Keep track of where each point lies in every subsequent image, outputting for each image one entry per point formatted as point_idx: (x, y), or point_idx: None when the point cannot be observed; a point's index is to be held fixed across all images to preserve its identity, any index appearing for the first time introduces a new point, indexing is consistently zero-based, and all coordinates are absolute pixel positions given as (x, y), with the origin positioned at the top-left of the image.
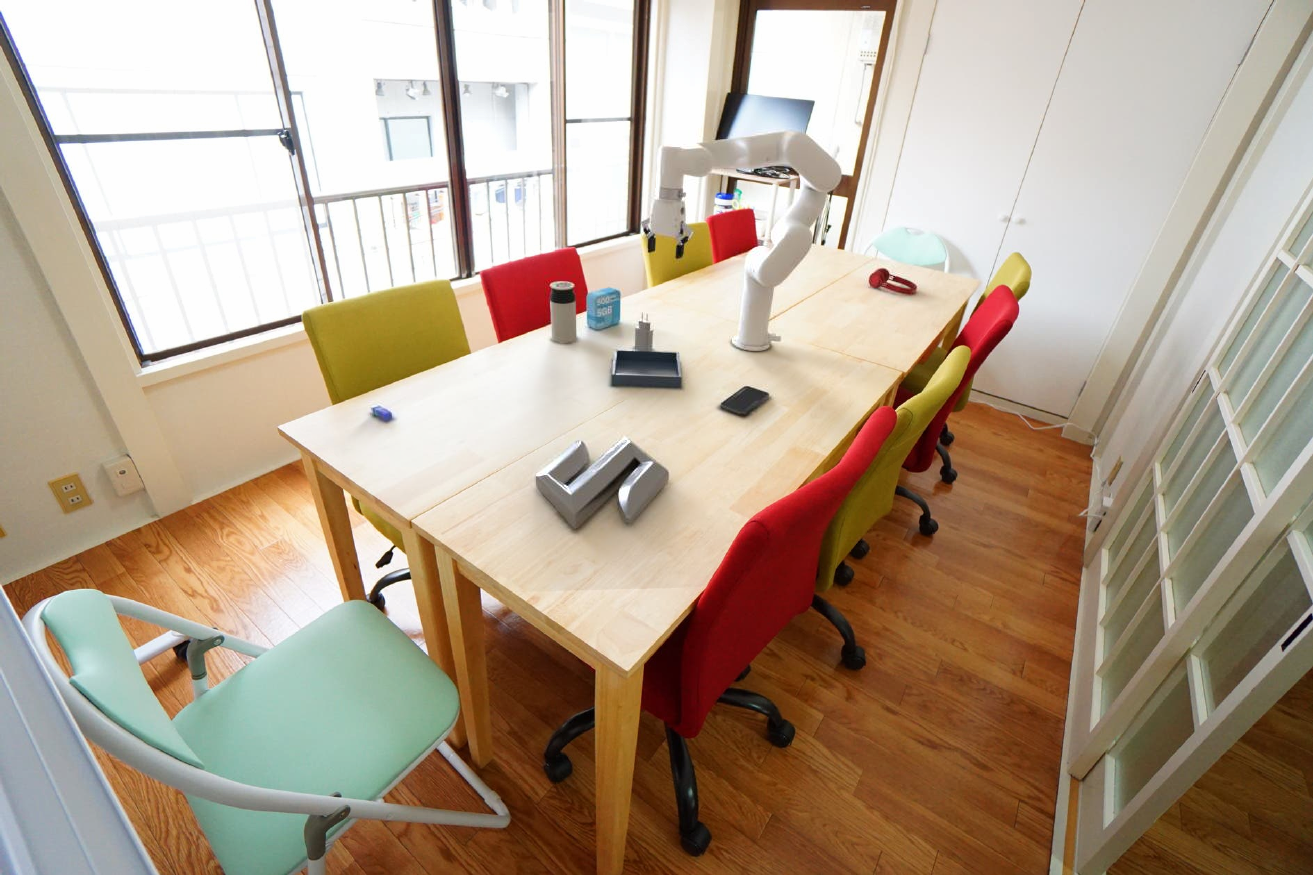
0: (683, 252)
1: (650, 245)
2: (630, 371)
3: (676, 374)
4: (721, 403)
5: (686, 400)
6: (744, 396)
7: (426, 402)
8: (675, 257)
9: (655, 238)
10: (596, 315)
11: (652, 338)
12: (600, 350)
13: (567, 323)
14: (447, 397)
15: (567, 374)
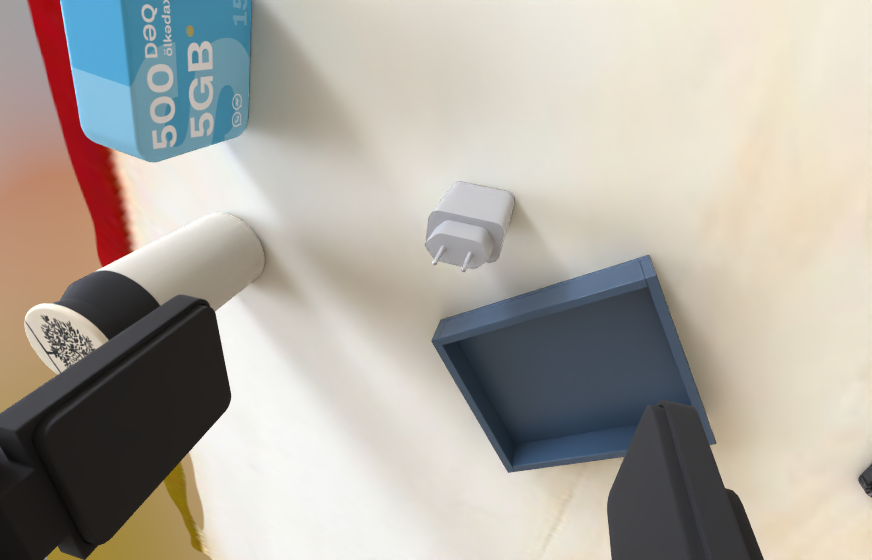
0: (745, 523)
1: (166, 471)
2: (523, 381)
3: (672, 355)
4: (867, 489)
5: (737, 463)
6: None
7: (280, 546)
8: (609, 512)
9: (43, 443)
10: (207, 141)
11: (508, 216)
12: (366, 274)
13: (221, 304)
14: (289, 532)
15: (388, 424)
